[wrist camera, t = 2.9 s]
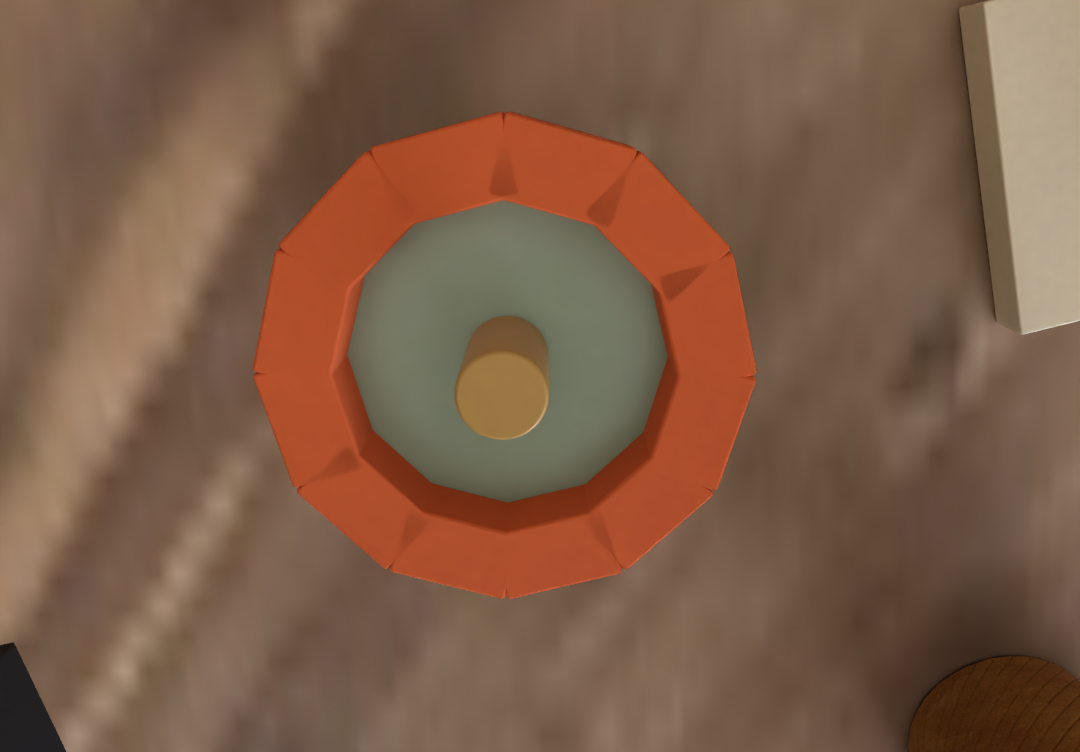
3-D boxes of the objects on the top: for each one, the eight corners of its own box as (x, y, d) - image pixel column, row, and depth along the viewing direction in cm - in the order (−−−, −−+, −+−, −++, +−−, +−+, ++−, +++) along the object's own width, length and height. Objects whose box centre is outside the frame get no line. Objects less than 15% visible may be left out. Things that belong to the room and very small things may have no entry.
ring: (361, 600, 22) (347, 637, 20) (214, 190, 19) (186, 197, 18) (772, 504, 21) (790, 535, 20) (681, 62, 18) (694, 58, 17)
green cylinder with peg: (421, 454, 28) (358, 634, 19) (335, 187, 26) (213, 237, 16) (686, 389, 28) (761, 541, 18) (623, 110, 25) (672, 114, 16)
